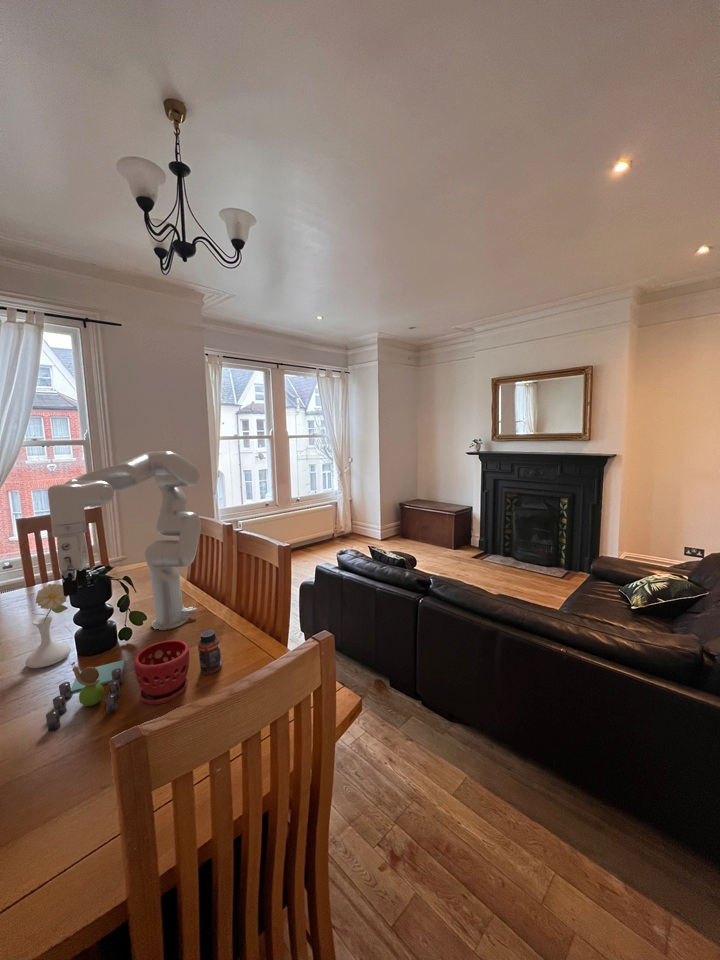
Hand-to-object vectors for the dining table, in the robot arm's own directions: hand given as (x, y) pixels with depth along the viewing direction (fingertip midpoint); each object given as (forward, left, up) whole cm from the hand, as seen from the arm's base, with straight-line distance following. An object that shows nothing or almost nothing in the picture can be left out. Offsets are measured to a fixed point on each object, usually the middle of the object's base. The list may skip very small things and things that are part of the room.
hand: (76, 588), depth 108 cm
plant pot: (-20, +17, -28) cm, 38 cm away
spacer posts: (-2, +12, -28) cm, 30 cm away
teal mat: (-2, -1, -28) cm, 28 cm away
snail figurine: (-2, +12, -28) cm, 31 cm away
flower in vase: (+13, -19, -28) cm, 37 cm away
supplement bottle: (-32, +12, -28) cm, 44 cm away
